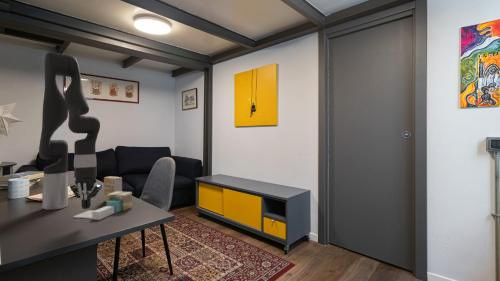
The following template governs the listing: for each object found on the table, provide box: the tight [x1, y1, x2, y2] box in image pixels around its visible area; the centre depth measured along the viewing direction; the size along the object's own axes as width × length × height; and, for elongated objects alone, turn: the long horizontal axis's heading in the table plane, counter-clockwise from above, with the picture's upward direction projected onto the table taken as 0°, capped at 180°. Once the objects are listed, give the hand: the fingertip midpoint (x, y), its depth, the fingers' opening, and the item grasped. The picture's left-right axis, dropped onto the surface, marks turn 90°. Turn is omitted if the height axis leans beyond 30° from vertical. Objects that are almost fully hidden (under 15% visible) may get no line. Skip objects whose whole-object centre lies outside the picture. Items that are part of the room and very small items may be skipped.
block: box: [106, 199, 122, 214], centre depth 116 cm, size 5×5×5 cm
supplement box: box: [103, 175, 123, 203], centre depth 131 cm, size 8×5×13 cm, turn 68°
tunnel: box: [108, 191, 133, 212], centre depth 119 cm, size 8×6×8 cm
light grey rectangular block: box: [92, 205, 115, 221], centre depth 108 cm, size 4×9×4 cm, turn 172°
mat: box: [72, 209, 94, 220], centre depth 110 cm, size 9×9×1 cm
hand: (86, 208), depth 98 cm, fingers closed
